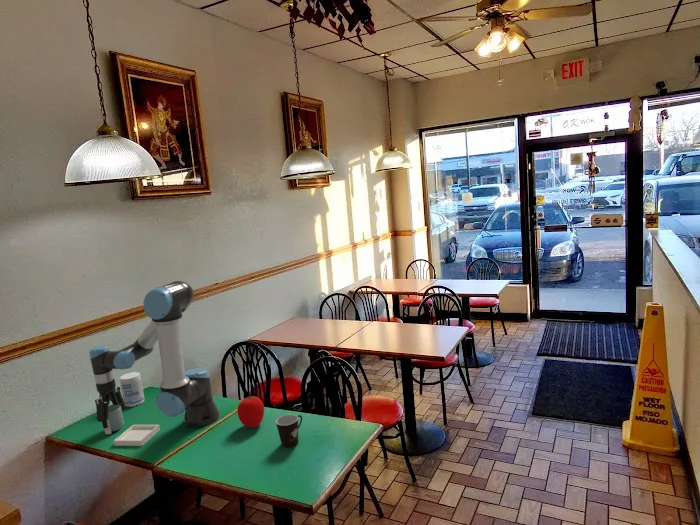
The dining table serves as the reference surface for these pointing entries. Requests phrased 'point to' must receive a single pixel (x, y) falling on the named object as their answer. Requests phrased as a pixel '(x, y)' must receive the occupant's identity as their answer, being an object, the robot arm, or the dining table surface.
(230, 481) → the dining table surface
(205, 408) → the robot arm
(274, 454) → the dining table surface
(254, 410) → the tomato
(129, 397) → the supplement tub
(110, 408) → the cup
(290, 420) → the coffee mug
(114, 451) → the dining table surface
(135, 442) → the dish
